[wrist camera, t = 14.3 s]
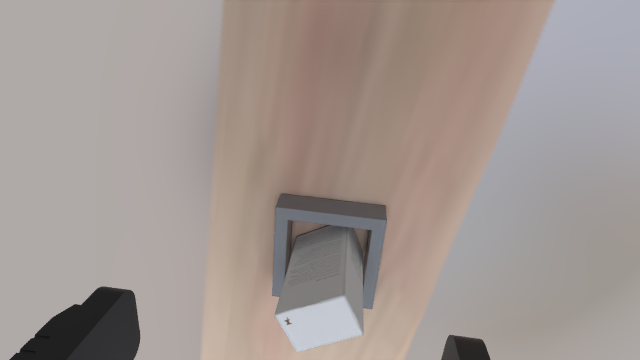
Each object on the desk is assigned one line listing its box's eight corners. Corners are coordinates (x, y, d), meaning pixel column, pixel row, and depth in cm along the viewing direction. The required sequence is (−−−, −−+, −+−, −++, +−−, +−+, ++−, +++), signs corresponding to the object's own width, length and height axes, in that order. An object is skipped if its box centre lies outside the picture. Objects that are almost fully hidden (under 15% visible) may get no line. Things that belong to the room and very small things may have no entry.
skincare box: (312, 267, 43) (294, 354, 32) (296, 235, 42) (271, 315, 31) (365, 250, 42) (365, 336, 31) (349, 217, 40) (343, 294, 29)
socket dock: (281, 193, 40) (275, 207, 37) (385, 205, 39) (386, 220, 37) (278, 278, 44) (272, 295, 42) (371, 290, 44) (372, 309, 41)
